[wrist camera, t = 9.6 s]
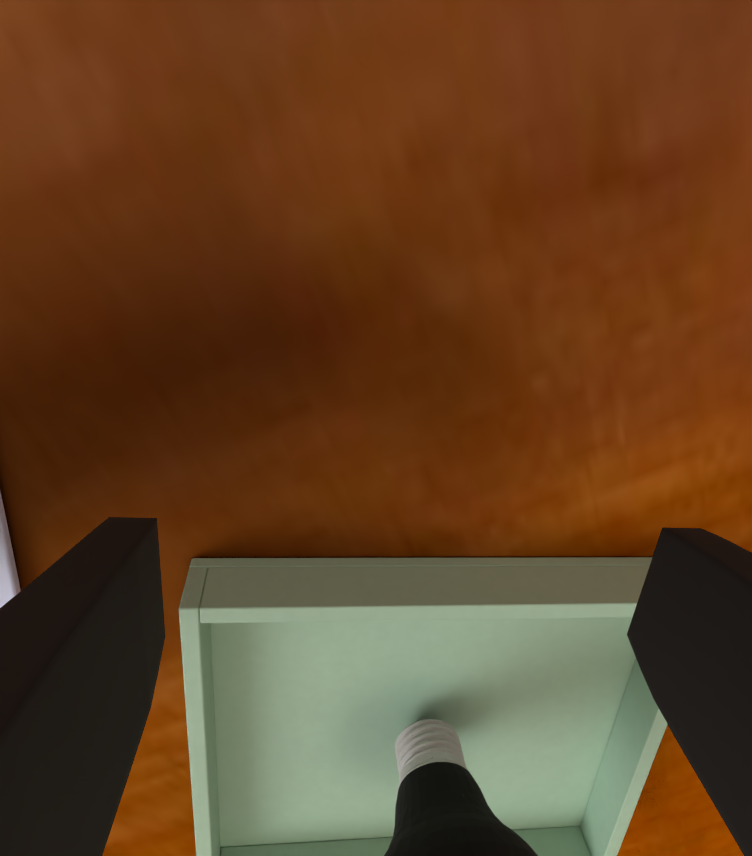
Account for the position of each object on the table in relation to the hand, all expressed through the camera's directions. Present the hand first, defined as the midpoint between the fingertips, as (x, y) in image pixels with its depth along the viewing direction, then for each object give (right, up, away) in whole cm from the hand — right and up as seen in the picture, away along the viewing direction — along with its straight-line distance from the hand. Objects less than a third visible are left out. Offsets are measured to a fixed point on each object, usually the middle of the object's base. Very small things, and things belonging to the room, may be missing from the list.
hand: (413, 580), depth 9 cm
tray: (+1, -9, +16) cm, 19 cm away
